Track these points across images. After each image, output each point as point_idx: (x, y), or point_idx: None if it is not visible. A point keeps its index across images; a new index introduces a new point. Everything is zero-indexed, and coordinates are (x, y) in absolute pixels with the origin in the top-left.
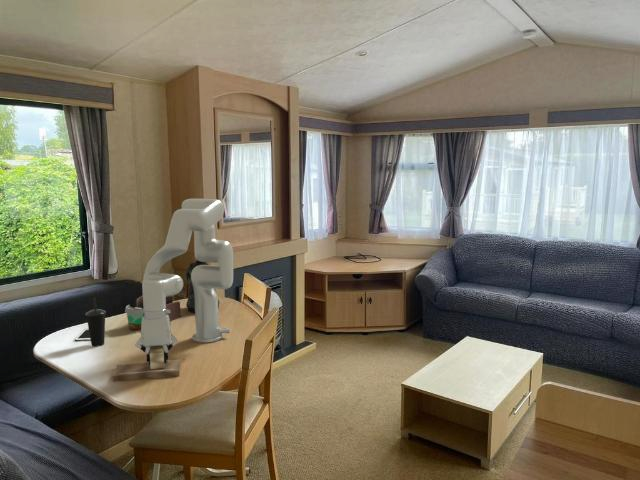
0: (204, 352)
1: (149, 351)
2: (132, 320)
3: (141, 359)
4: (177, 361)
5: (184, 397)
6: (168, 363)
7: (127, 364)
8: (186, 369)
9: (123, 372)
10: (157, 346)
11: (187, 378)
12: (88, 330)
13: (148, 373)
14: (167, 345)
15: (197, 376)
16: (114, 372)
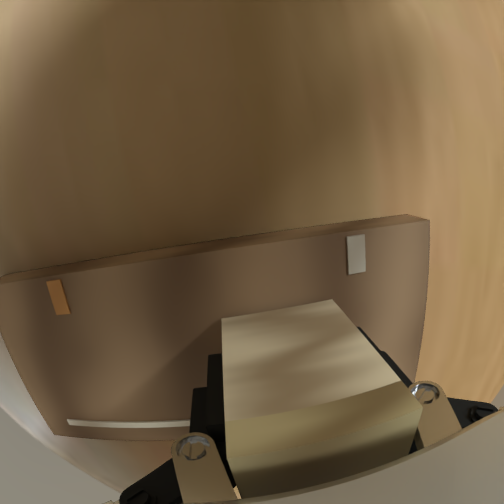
0: (481, 51)
1: (233, 479)
2: None
3: (88, 81)
4: (413, 255)
5: None
6: (355, 292)
7: (32, 287)
8: (435, 291)
9: (76, 406)
10: (335, 470)
11: None
12: None
13: None
14: (449, 427)
15: (461, 366)
16: (31, 394)
